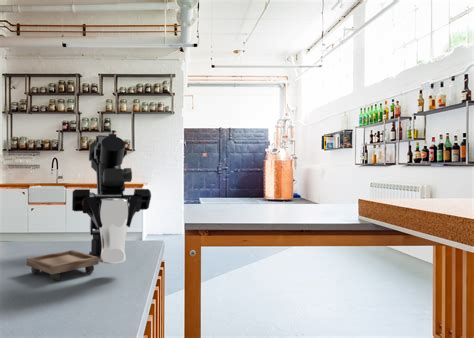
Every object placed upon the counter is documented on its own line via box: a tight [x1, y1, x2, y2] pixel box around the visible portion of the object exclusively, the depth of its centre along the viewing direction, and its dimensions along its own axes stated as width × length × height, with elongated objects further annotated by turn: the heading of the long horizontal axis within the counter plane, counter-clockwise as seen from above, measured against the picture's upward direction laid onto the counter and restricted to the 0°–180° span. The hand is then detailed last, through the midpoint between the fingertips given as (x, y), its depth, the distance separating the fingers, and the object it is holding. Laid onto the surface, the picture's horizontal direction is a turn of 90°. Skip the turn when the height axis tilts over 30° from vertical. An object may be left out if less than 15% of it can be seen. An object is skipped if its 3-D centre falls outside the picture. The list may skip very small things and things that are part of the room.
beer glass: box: [99, 198, 129, 265], centre depth 96 cm, size 7×7×15 cm
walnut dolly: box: [26, 249, 99, 282], centre depth 99 cm, size 12×12×4 cm
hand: (114, 226), depth 95 cm, fingers closed on beer glass, 7 cm apart
